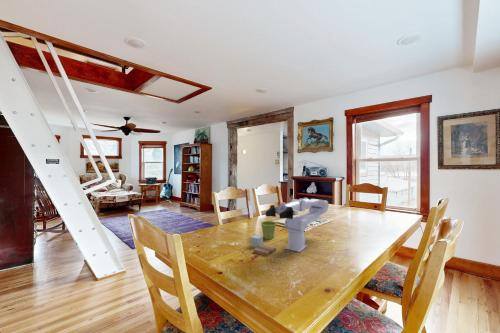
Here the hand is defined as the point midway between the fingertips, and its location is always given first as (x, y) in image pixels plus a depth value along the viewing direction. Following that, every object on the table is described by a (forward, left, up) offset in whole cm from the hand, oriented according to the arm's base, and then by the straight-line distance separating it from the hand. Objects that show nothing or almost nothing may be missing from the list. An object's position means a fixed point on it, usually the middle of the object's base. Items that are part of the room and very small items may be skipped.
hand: (273, 215), depth 103 cm
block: (-11, -16, -21) cm, 28 cm away
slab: (-7, -9, -21) cm, 24 cm away
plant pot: (-26, -18, -21) cm, 38 cm away
